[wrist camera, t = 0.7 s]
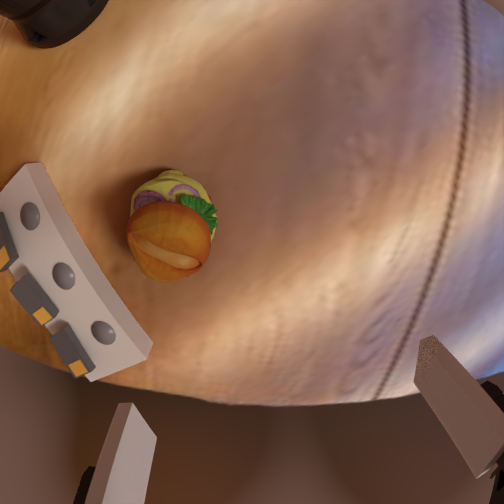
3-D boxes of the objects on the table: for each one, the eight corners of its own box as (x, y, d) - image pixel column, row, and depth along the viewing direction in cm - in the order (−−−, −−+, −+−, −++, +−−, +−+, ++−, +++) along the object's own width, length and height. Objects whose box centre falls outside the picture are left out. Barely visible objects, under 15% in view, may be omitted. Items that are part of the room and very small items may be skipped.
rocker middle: (14, 284, 30) (9, 290, 28) (27, 272, 29) (22, 278, 28) (44, 321, 33) (40, 327, 31) (59, 310, 32) (55, 317, 31)
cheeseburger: (217, 163, 32) (213, 193, 24) (222, 245, 38) (221, 294, 30) (133, 170, 32) (101, 201, 23) (146, 248, 37) (126, 296, 29)
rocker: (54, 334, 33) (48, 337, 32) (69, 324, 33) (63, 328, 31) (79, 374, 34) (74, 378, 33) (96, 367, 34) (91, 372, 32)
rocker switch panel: (-1, 209, 32) (-18, 215, 28) (42, 162, 31) (24, 163, 27) (99, 366, 40) (90, 382, 36) (153, 342, 39) (146, 360, 35)
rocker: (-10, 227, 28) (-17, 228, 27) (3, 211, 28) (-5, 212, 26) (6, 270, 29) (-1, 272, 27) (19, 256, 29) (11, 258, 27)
